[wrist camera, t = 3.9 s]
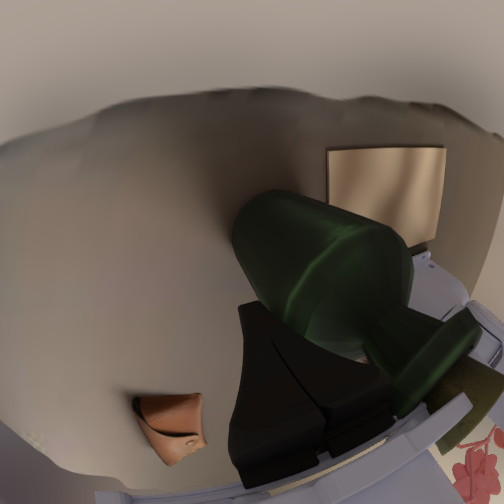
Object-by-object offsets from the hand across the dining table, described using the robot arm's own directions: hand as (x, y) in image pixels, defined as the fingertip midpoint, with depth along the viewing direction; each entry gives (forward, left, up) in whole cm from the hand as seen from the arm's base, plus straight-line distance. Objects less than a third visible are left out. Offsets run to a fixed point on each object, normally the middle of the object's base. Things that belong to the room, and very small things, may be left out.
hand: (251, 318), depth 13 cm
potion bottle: (-4, 0, -8) cm, 9 cm away
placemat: (-17, 0, -9) cm, 19 cm away
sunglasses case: (+11, +26, -9) cm, 29 cm away
